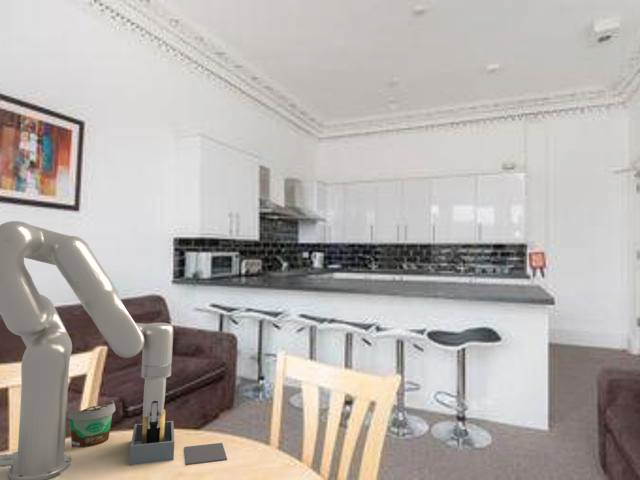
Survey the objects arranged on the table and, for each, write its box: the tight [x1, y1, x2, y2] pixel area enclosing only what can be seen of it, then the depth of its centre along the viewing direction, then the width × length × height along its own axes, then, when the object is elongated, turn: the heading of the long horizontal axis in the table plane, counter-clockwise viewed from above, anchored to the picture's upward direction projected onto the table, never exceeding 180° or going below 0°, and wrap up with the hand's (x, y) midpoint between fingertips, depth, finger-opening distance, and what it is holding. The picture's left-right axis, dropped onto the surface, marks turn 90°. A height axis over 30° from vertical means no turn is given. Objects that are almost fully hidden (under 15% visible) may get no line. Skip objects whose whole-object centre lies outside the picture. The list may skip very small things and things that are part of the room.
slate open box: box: [129, 420, 175, 466], centre depth 114 cm, size 10×15×5 cm
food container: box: [67, 399, 116, 448], centre depth 118 cm, size 12×6×10 cm, turn 143°
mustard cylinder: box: [142, 408, 166, 444], centre depth 115 cm, size 6×6×10 cm
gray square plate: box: [184, 442, 228, 466], centre depth 113 cm, size 10×10×1 cm
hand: (153, 438), depth 114 cm, fingers closed on mustard cylinder, 5 cm apart
